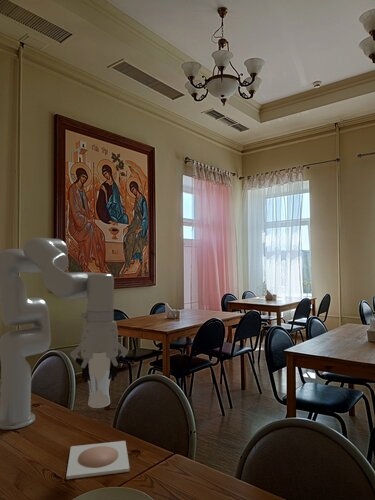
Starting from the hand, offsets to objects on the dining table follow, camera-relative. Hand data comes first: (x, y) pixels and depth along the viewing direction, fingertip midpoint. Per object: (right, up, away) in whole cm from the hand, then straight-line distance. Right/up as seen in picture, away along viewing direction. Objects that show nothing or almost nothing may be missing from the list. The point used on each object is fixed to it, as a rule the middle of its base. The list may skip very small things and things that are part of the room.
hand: (99, 379), depth 106 cm
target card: (0, -22, -1) cm, 22 cm away
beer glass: (0, -7, 0) cm, 7 cm away
